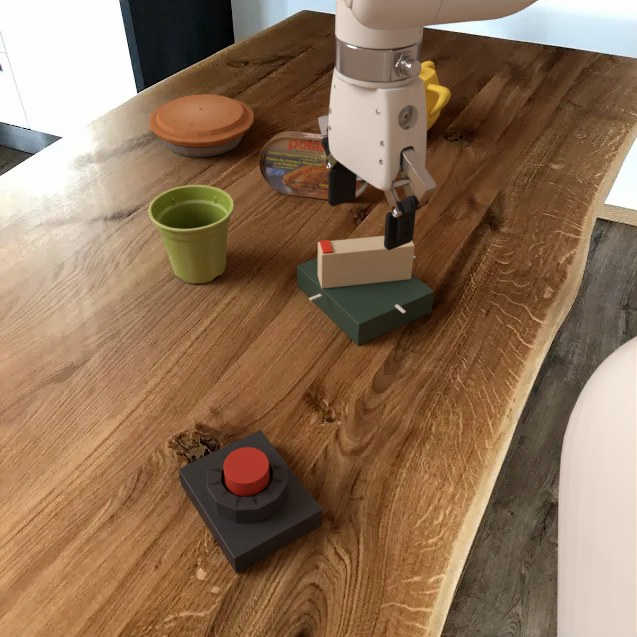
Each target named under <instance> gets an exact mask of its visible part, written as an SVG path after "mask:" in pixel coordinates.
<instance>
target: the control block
mask: <svg viewBox="0 0 637 637" xmlns="http://www.w3.org/2000/svg"><path fill="white" fill-rule="evenodd" d="M244 447H252V448H256V449H258V450H260V451H262V452H263V453H264V454H265V455H266V456H267V458H268V461H269V473H270V480H269V483H268V485H267V487H266V488H265V489H264V490H263V491H262V492H260V493H259V494H257V495H254V496H249V497H243V496H238V495H236V494H234V493H232V492H231V491H230V490H229V489H228V488H227V486H226V483H225V476H224V467H223V466H224V461H225V459H226V458H227V456H228V455H229V454H230V453H231V452H233V451H235V450H237V449H239V448H244ZM178 475H179V480H180V485H181V487H182V489H183V490H184V493H185V494H186V495H187V497H188V498H189V500H190V501H191V503H192V505H193V506H194V508H195V509H196V511H197V513H198V514H199V516H200V518H201V520H202V521H203V523H204V524H205V526H206V528H207V529H208V531H209V532H210V534H211V536H212V537H213V539H214V540H215V542H216V543H217V545H218V547H219V549H220V550H221V552H222V553H223V555H224V557H225V558H226V559H227V562H229V565H230V566H231V568H232V569H233V571H234V573H235V574H238V573H240V572H242V571H245V569H247V568H249V567H251V566H253V565H254V564H256V563H258V562H260V561H262V560H263V559H265V558H267V557H269V556H270V555H272V554H274V553H275V552H277V551H280V550H281V549H283V548H285V547H286V546H287V545H289V544H291V543H293V542H296V541H297V540H299V539H300V538H302V537H304V536H305V535H307V534H309V533H311V532H313V531H314V530H316V529H319V528H320V527H322V526H323V508H322V507H321V506H320V505H319V503H318V502H317V501H316V500H315V498H314V497H313V496H312V494H311V493H310V492H309V490H308V489H307V488H306V486H305V485H304V484H303V483H302V482H301V480H300V479H299V477H298V476H297V475H296V474H295V472H294V471H293V470H292V468H291V466H289V465H288V463H287V462H286V460H285V459H284V458H283V457H282V456H281V454H280V453H279V452H278V450H277V449H276V448H275V447H274V445H273V444H272V443H271V441H270V440H269V439H268V437H267V436H266V435H265V434H264V432H263V431H262V430H261V429H259V430H257V431H255V432H253V433H250V434H249V435H246V436H244V437H241V438H239V439H237V440H236V441H234V442H232V443H229V444H227V445H225V446H223V447H222V448H219V449H217V450H215V451H213V452H211V453H208V454H207V455H205V456H203V457H201V458H198V459H197V460H194V461H192V462H190V463H188V464H186V465H184V466H182V467H180V468H178Z"/></svg>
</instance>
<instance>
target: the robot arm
mask: <svg viewBox="0 0 637 637" xmlns="http://www.w3.org/2000/svg"><path fill="white" fill-rule="evenodd" d="M538 1H539V0H335V18H334V19H335V20H334V23H335V25H334V26H335V27H334V67H333V68H334V69H333V74H332V78H331V86H330V95H329V106H328V113H327V114H326V115H322V116H318V118H317V122H318V127H319V131H320V134H321V135H322V136H323V138H322V146H323V148H324V151H325V153H326V155H327V158H326V160H325V164H326V167H327V168H328V169H329V170H331V171H328V200H327V203H328V204H329V206H331V207H336V206H339V205H342V204H345V203H348V202H351V201H353V200H355V199H356V198H355V197H356V175H358V176H359V177H361V178H362V179H364V180H365V181H367V182H368V183H369V185H371V186H373V187H374V188H376V189H378V190H380V191H383V194H384V197H385V198H386V202H387V205H388V207H389V210H390V211H389V212H387V213H386V214H385V223H384V235H383V236H384V247H385V248H386V249H388V250H392V249H394V248H397V247H399V246H402V245H404V244H407V243H410V242H411V241H413V239H414V232H415V222H416V212H417V211H419V210H421V209H422V208H423V207H424V206H426V205H428V203H429V200H430V199H431V197H432V195H433V194H434V193H435V191H436V190H437V183H436V181H435V180H434V178H433V177H432V175H431V174H430V172H429V171H428V169H427V168H426V158H427V157H426V156H427V140H428V138H427V135H428V130H427V110H426V96H425V88H424V81H423V79H421V78H420V77H419V73H420V71H421V67H422V66H421V64H422V62H421V58H422V48H423V35H424V34H423V33H424V27H429V26H439V25H449V24H458V23H459V24H460V23H461V24H462V23H469V22H482V21H483V22H485V21H494V20H499V19H503V18H507V17H509V16H512V15H515V14H517V13H519V12H521V11H523V10H525V9H527V8H529V7H531V6H532V5H533V4H535V3H536V2H538ZM398 174H399V177H400V179H398V180H397V179H396V178H397V176H398ZM399 188H402V189H403V191H404V194H405V198H404V199H403V200H400V198H399V196H398V193H397V190H396V189H399ZM582 388H583V389H582V390H581V391H580V394H579V396H578V398H577V400H576V402H575V404H574V406H573V409H572V411H571V414H570V416H569V419H568V423H567V425H566V429H565V433H564V436H563V442H562V448H561V454H560V467H559V483H558V502H557V503H558V506H557V507H558V508H557V509H558V512H557V513H558V514H557V516H558V518H557V530H558V531H557V602H556V603H557V607H556V608H557V610H556V612H557V614H556V616H557V618H556V633H557V634H556V637H637V335H636V336H634V337H633V338H631V339H629V340H628V341H626V342H624V343H623V344H622V345H620V346H619V347H618V348H616V349H615V350H614V351H613V352H612V353H611V354H609V355H608V356H607V357H606V358H605V359H604V360H603V361H602V362H601V363H600V365H598V366H597V368H596V369H595V370H594V371H593V373H592V375H591V376H590V377H589V379H588V380H587V381H586V383H585V385H584V386H583V387H582Z"/></svg>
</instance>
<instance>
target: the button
mask: <svg viewBox="0 0 637 637" xmlns="http://www.w3.org/2000/svg"><path fill="white" fill-rule="evenodd" d="M223 467H224V476H225V483H226V486H227V488H228V489H229V490H230V491H231V492H232V493H234V494H236V495H238V496H243V497H249V496H254V495H257V494H259V493H260V492H262V491H263V490H264V489H265V488H266V487H267V485H268V483H269V480H270V473H269V461H268V458H267V456H266V455H265V454H264V453H263V452H262V451H260V450H258V449H256V448H252V447H244V448H239V449H237V450H235V451H233V452H231V453H230V454H229V455H228V456H227V458H226V459H225V461H224V466H223Z"/></svg>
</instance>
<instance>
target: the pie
mask: <svg viewBox="0 0 637 637" xmlns="http://www.w3.org/2000/svg"><path fill="white" fill-rule="evenodd" d="M254 119H255V113H254V111H253V110H252V109H251V107H250V106H248V105H247V104H245V103H244V102H242V101H239V100H236V99H233V98H230V97H227V96H225V95H220V94H219V95H218V94H206V93H203V94H192V95H186V96H180V97H178V98H175V99H172V100H170V101H168V102H167V103H165V104H163V105H161V106H159V107H157V108H155V110H153V112H152V113H151V114H149V120H148V124H149V129H150V131H151V132H152V133H154V135H156V136H157V137H158V138H159V139H160V140H161V142H162V143H163V144H164V145H165V146H166V147H167V148H168V149H169V150H171V152H173V153H175V154H178V155H180V156H184V157H190V158H209V157H210V158H211V157H215V156H219V155H223V154H226V153H228V152H230V151H232V150H233V149H235V148H236V147H237V146H238V145H239V144H240V142H241V140H242V139H243V137H244V136H245V134H246V133H247V132H248V131H249V129H250V127H252V125H253V124H254Z"/></svg>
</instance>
